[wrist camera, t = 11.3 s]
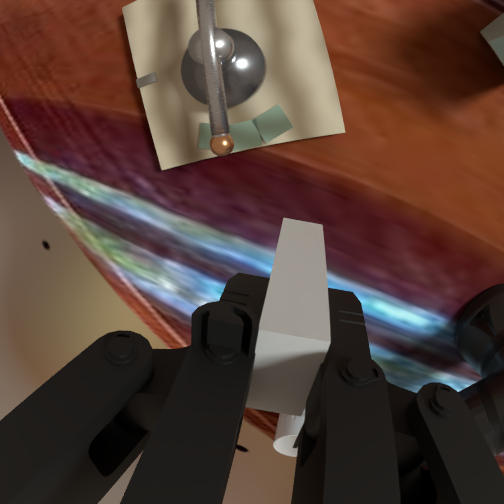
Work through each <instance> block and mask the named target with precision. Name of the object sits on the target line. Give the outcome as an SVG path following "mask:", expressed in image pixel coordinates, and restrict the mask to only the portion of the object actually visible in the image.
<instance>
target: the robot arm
mask: <svg viewBox="0 0 504 504" xmlns="http://www.w3.org/2000/svg"><path fill="white" fill-rule="evenodd" d="M454 339H455V344H456V347H457V349H458V351H459V354H460V355H461V357H462V358H463V359H464V360H465V361H466V362H468V363H469V364H470V365H471V366H472V367H473V368H474V369H475V370H476V371H477V372H478V373H479V374H480V375H481V377H482V380H480V381H478V382H476V383H474V384H472V385H471V386H469V387H467V388H465V389H463V390H461V391H459V392H457V391H456V390H454V389H453V388H451V387H450V386H448V385H445V384H442V383H436V382H431V383H428V384H426V385H423V386H422V388H421V389H420V390H419V391H418V393H414V392H412V391H409V390H406V389H403V388H400V387H397V386H395V385H393V384H391V383H389V382H388V381H386V378H385V375H384V373H383V371H382V369H381V368H380V366H379V365H378V364H377V363H376V362H375V361H373V360H371V354H370V348H369V342H368V337H367V331H366V326H365V321H364V316H363V311H362V306H361V302H360V301H359V300H358V298H357V297H356V296H355V294H354V293H353V292H350V291H344V290H338V289H332V288H328V284H327V270H326V258H325V247H324V236H323V226H322V225H320V224H315V223H309V222H304V221H298V220H293V219H287V218H284V219H283V223H282V228H281V232H280V237H279V241H278V246H277V250H276V254H275V259H274V263H273V268H272V272H271V276H270V278H265V277H259V276H254V275H249V274H243V273H238V274H236V275H235V276H233V277H232V278H230V279H229V280H228V282H227V284H226V286H225V288H224V292H223V293H222V295H221V297H220V301H217V302H211V303H207V304H204V305H202V306H200V307H198V308H197V309H196V310H195V311H194V312H193V313H192V331H191V345H190V346H187V347H184V348H179V349H152V347H151V345H150V343H149V341H148V340H147V339H146V338H144V337H143V336H142V335H140V334H138V333H135V332H132V331H115V332H111V333H107V334H106V335H104V336H102V337H100V338H99V339H97V340H96V341H95V342H94V343H93V344H91V345H90V346H89V347H88V348H86V349H85V350H84V351H83V352H81V353H80V354H79V355H78V356H77V357H75V358H74V359H73V360H72V361H70V362H69V363H68V364H67V365H66V366H64V367H63V368H62V369H61V370H60V371H58V372H57V373H56V374H55V375H54V376H52V377H51V378H50V379H49V380H48V381H46V382H45V383H44V384H43V385H42V386H41V387H39V388H38V389H37V390H36V391H35V392H33V393H32V394H31V395H30V396H29V397H27V398H26V399H25V400H24V401H23V402H21V403H20V404H19V405H18V406H17V407H16V408H15V409H13V410H12V411H11V412H10V413H9V414H8V415H6V416H5V417H4V418H3V419H2V420H1V421H0V504H97V503H98V502H99V501H100V500H101V499H102V498H103V497H104V496H105V494H106V493H107V492H108V491H109V490H110V489H111V488H112V486H113V485H114V484H115V483H116V482H117V481H118V479H119V478H120V477H121V476H122V475H123V473H124V472H125V471H126V470H127V469H128V467H129V466H130V465H131V464H132V463H133V462H134V460H135V459H136V458H137V457H138V455H139V454H140V453H141V452H142V451H143V453H142V455H141V457H140V459H139V462H138V464H137V466H136V468H135V471H134V473H133V475H132V477H131V480H130V482H129V484H128V487H127V489H126V491H125V493H124V496H123V498H122V500H121V502H120V504H222V501H223V497H224V494H225V490H226V485H227V482H228V478H229V474H230V470H231V466H232V462H233V458H234V454H235V450H236V446H237V441H238V437H239V433H240V429H241V424H242V419H243V414H244V410H245V407H248V408H253V409H259V410H264V411H270V412H276V413H282V414H288V415H295V416H302V414H303V411H304V409H305V420H304V423H303V425H302V427H301V430H300V432H299V434H298V436H297V438H296V440H295V443H294V445H293V448H297V447H298V450H297V460H296V469H295V477H294V485H293V493H292V501H291V504H504V476H503V474H502V472H501V469H500V467H499V465H498V463H497V461H496V459H495V457H494V456H496V455H498V454H500V453H501V452H503V451H504V284H500V285H497V286H494V287H492V288H490V289H488V290H486V291H484V292H483V293H481V294H480V295H479V296H478V297H476V298H475V299H474V300H473V301H472V302H471V303H470V304H469V306H468V307H467V308H466V309H465V311H464V312H463V314H462V315H461V317H460V319H459V321H458V323H457V326H456V329H455V336H454Z"/></svg>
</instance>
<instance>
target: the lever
mask: <svg viewBox="0 0 504 504" xmlns="http://www.w3.org/2000/svg"><path fill="white" fill-rule="evenodd" d="M195 1H196V11H197V20H198V29H199V30H197V31H196V32H195V33H194V34H193V35H192V36H191V38H190V40H189V43H188V48H187V50H186V52H185V54H184V56H183V59H182V63H181V77H182V81H183V84H184V86H185V88H186V89H187V91H188V92H189V93H190V95H191V96H192V97H193V98H195V99H196V100H197V101H199V102H201V103H203V104H205V105H207V106H208V114H209V122H210V129H211V136H212V138H211V139H210V143H209V146H210V149H211V151H212V152H213V153H214V154H215V155H217V156H226V155H228V154H230V153H231V152H232V150H233V149H234V139H233V138H232V136H231V135H230V129H229V121H228V112H227V107H231V106H236V105H239V104H242V103H244V102H246V101H247V100H249V99H250V98H252V97H253V96H254V95H255V94H256V93H257V92H258V91H259V89H260V88H261V86H262V84H263V82H264V80H265V76H266V70H267V66H266V59H265V56H264V53H263V51H262V50H261V48H260V47H259V45H258V44H257V43H256V42H255V41H254V40H253V39H252V38H251V37H250V36H248V35H247V34H245V33H243V32H241V31H238V30H235V29H228V28H221V29H220V28H217V19H216V11H215V2H214V0H195Z"/></svg>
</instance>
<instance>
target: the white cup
mask: <svg viewBox="0 0 504 504" xmlns="http://www.w3.org/2000/svg"><path fill="white" fill-rule="evenodd" d="M304 420H305V409H304V411H303V414H302V416H295V415H288V414H282V413H280V415H279V419H278V423H277V428H276V433H275V438H274V442H273V447H274V448H275V450H276V451H278V452H279V453H281V454H284V455H287V456H294V457H297V450H298V447H297V448H293V445H294V443H295V440H296V438H297V436H298V434H299V432H300V430H301V427H302V425H303V423H304Z"/></svg>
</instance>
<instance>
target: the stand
mask: <svg viewBox="0 0 504 504" xmlns="http://www.w3.org/2000/svg"><path fill="white" fill-rule="evenodd" d="M214 2H215V11H216V19H217V28H220V29H221V28H228V29H235V30H238V31H241V32H243V33H245V34H247V35H248V36H250V37H251V38H252V39H253V40H254V41H255V42H256V43H257V44H258V45H259V47H260V48H261V50H262V51H263V53H264V56H265V59H266V66H267V70H266V76H265V80H264V82H263V84H262V86H261V88H260V89H259V91H258V92H257V93H256V94H255V95H254V96H253V97H252V98H250V99H249V100H247V101H246V102H244V103H242V104H239V105H236V106H231V107H227V112H228V121H229V129H230V135H231V136H232V138H233V139H234V149H233V150H232V152H231V153H233V152H238V151H243V150H247V149H252V148H257V147H262V146H267V145H272V144H277V143H283V142H288V141H294V140H300V139H306V138H312V137H318V136H324V135H331V134H338V133H345V128H344V123H343V118H342V113H341V108H340V103H339V98H338V94H337V89H336V85H335V80H334V76H333V72H332V68H331V64H330V60H329V56H328V52H327V48H326V44H325V40H324V37H323V33H322V30H321V26H320V23H319V19H318V16H317V12H316V9H315V6H314V3H313V0H214ZM122 9H123V14H124V19H125V24H126V29H127V34H128V39H129V43H130V48H131V52H132V57H133V61H134V66H135V70H136V74H137V79H136V82H137V87H138V88H140V91H141V95H142V99H143V103H144V107H145V111H146V115H147V119H148V122H149V126H150V130H151V134H152V137H153V141H154V145H155V148H156V152H157V155H158V159H159V162H160V166H161V169H162V170H165V169H169V168H172V167H176V166H180V165H184V164H187V163H191V162H195V161H199V160H203V159H208V158H212V157H216V156H217V155H215V154H214V153H213V152H212V151H211V149H210V146H209V143H210V139H211V138H212V136H211V129H210V122H209V114H208V106H207V105H205V104H203V103H201V102H199V101H197V100H196V99H195V98H193V97H192V96H191V95H190V93H189V92H188V91H187V89H186V88H185V86H184V84H183V81H182V77H181V63H182V59H183V56H184V54H185V52H186V50H187V48H188V43H189V40H190V38H191V36H192V35H193V34H194V33H195V32H196V31H197V30H199V29H198V20H197V11H196V1H195V0H137V1H135V2H133V3H131V4H129V5H127V6H125V7H123V8H122Z"/></svg>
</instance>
